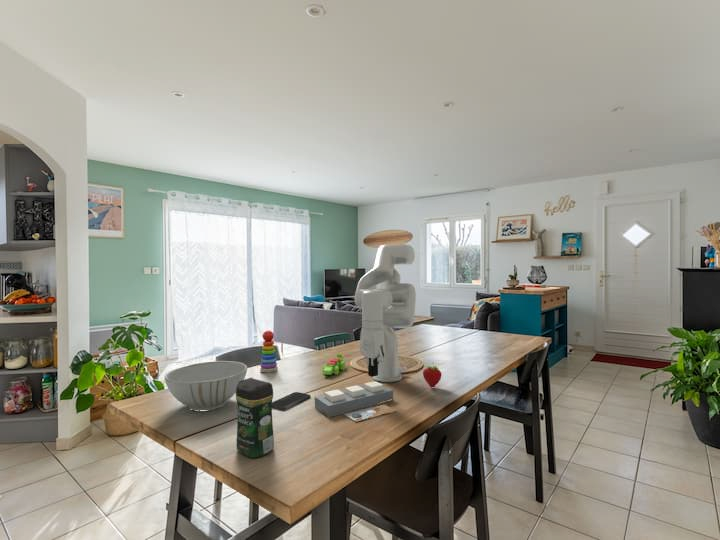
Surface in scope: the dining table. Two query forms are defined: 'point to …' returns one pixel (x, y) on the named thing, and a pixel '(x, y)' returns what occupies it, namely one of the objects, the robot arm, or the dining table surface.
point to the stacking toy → (268, 354)
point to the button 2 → (373, 386)
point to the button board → (352, 402)
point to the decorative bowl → (205, 383)
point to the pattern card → (361, 413)
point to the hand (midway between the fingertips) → (373, 375)
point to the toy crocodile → (334, 365)
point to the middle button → (354, 391)
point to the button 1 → (334, 395)
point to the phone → (290, 401)
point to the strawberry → (432, 375)
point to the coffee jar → (254, 417)
